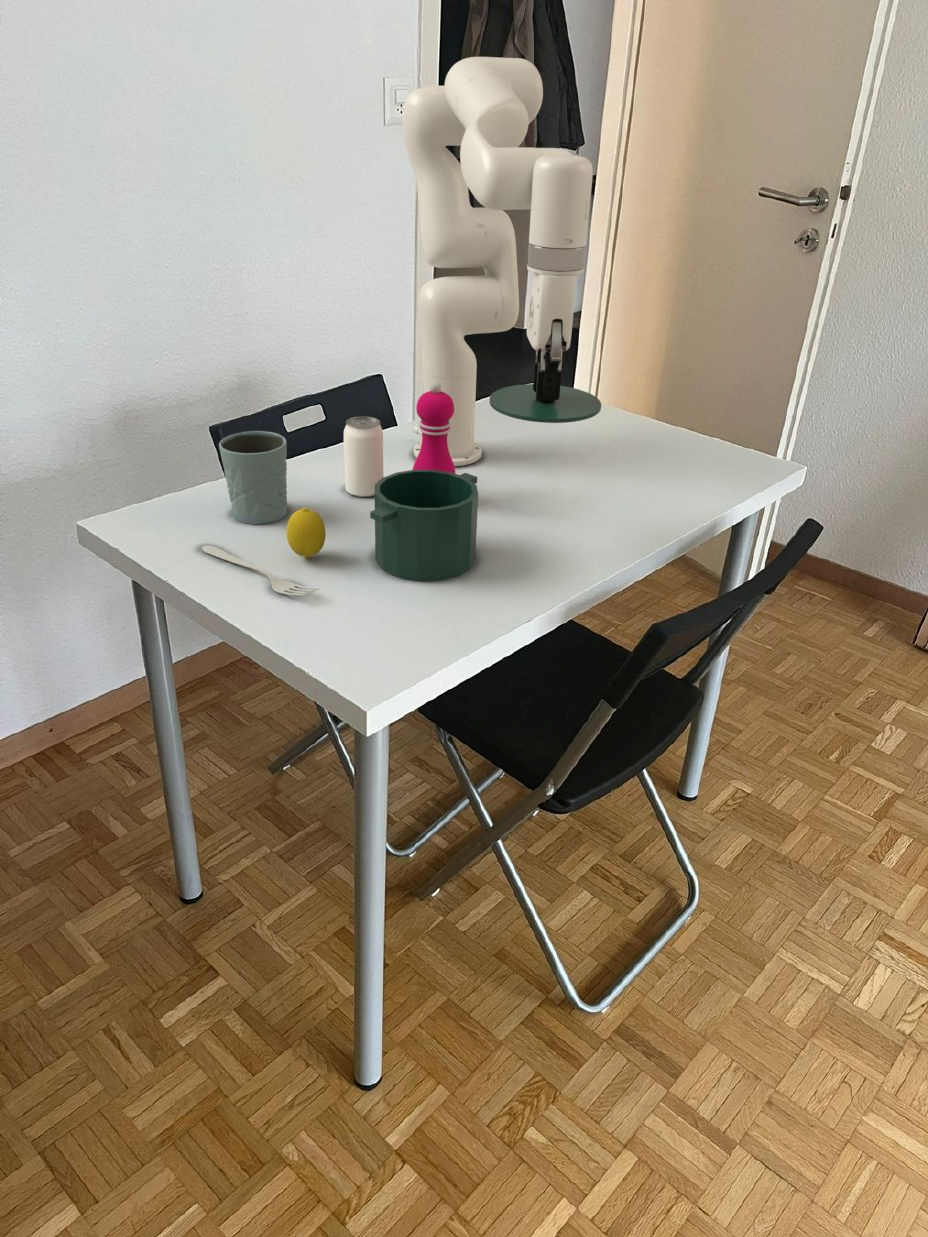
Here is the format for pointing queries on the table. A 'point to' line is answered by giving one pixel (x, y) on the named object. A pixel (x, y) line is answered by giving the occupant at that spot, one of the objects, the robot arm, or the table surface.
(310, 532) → the lemon
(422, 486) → the pot
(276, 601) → the table surface
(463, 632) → the table surface
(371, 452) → the can
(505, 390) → the lid
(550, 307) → the robot arm
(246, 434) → the grey-green cup
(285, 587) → the fork
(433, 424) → the pepper mill
